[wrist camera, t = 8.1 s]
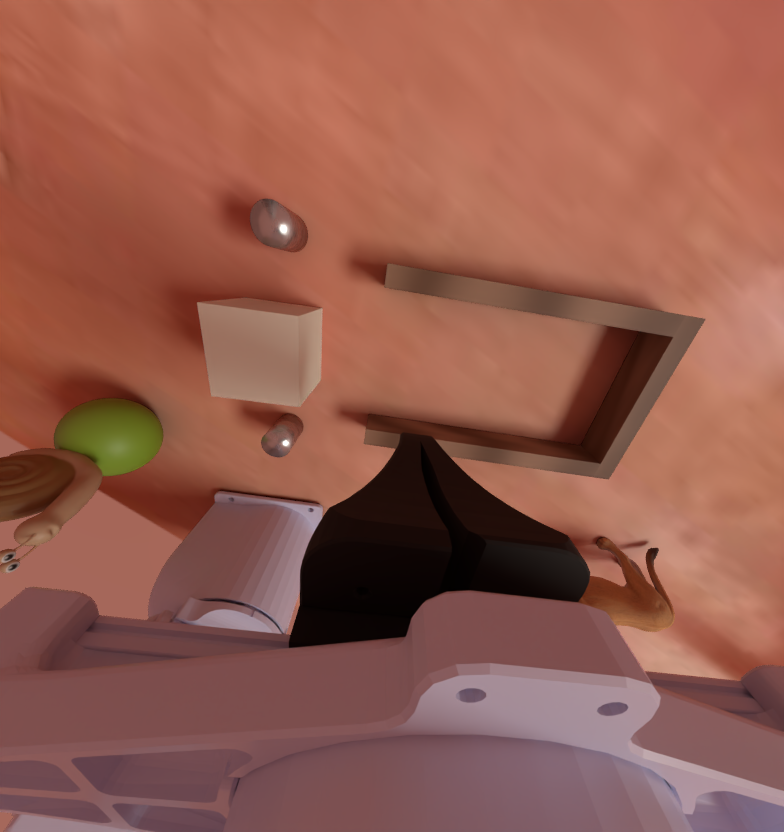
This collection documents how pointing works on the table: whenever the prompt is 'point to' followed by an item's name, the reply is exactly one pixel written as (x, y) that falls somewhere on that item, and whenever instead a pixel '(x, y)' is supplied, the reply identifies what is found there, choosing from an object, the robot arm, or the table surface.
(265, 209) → the posts
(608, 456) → the stall
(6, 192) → the table surface
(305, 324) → the cube
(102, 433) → the snail figurine
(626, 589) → the lion figurine
